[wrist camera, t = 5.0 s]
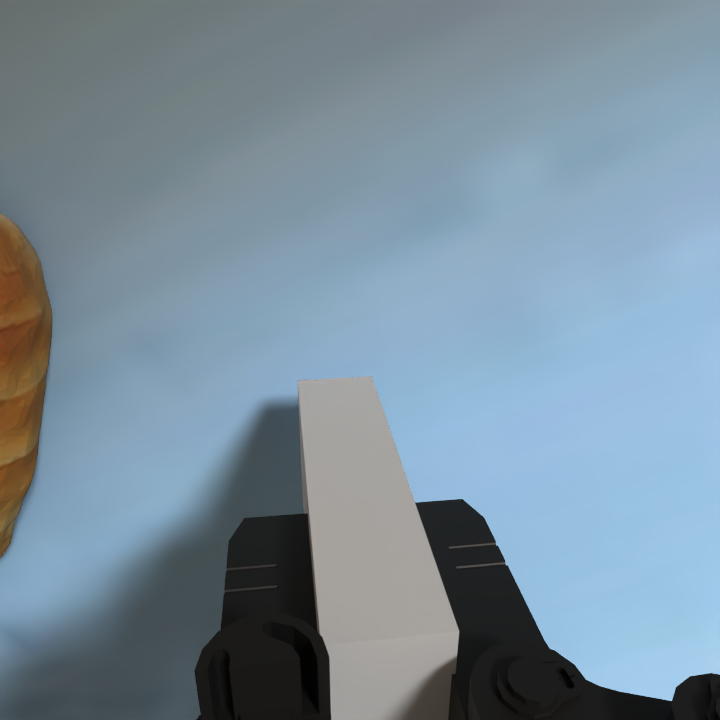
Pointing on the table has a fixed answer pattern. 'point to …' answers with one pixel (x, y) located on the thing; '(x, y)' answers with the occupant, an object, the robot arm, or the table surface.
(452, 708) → the robot arm
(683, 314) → the table surface
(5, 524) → the pastry
